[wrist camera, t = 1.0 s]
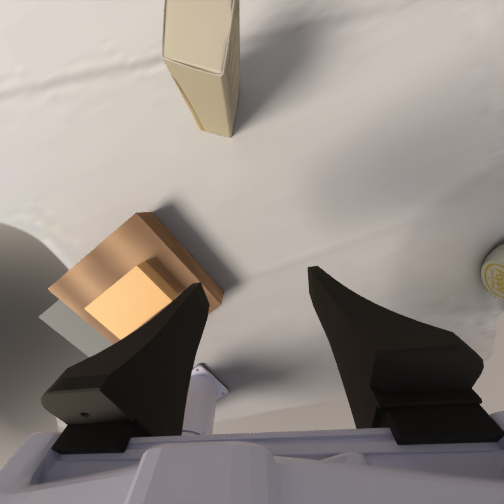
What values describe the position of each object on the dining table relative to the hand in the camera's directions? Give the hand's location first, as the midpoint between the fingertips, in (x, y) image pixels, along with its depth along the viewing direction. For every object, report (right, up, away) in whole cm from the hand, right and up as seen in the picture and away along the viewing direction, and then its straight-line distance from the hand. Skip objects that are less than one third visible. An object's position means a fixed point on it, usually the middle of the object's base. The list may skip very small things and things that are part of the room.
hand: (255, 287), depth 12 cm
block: (-16, -4, +12) cm, 20 cm away
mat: (-26, -10, +18) cm, 33 cm away
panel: (-16, -3, +16) cm, 23 cm away
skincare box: (-4, +21, +11) cm, 24 cm away
